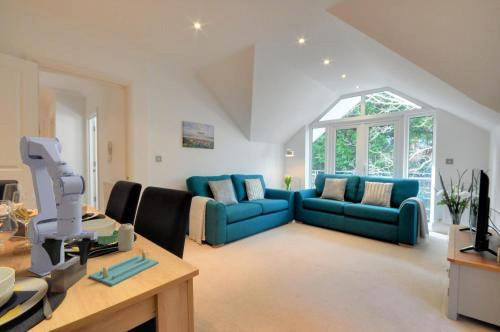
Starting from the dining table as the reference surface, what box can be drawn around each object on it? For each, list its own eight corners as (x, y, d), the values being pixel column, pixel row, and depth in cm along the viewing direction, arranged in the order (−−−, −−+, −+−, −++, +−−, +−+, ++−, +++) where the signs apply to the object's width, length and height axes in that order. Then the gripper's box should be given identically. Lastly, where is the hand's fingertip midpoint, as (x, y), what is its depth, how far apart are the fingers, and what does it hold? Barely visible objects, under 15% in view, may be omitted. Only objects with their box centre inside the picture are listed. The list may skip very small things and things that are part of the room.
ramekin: (126, 240, 106) (126, 230, 106) (109, 248, 97) (109, 237, 97) (108, 238, 108) (108, 229, 108) (91, 245, 99) (91, 235, 99)
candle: (127, 252, 93) (127, 226, 93) (115, 250, 94) (115, 225, 94) (136, 247, 98) (136, 222, 98) (125, 245, 100) (125, 221, 99)
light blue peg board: (89, 277, 73) (89, 265, 73) (136, 257, 89) (136, 247, 88) (112, 286, 68) (112, 273, 68) (158, 263, 84) (158, 253, 84)
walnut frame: (50, 293, 65) (50, 270, 65) (74, 275, 75) (74, 255, 74) (64, 292, 65) (64, 270, 65) (86, 274, 75) (86, 255, 75)
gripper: (31, 221, 65) (32, 270, 65) (87, 221, 66) (87, 269, 66) (51, 215, 72) (51, 259, 72) (101, 215, 73) (101, 259, 73)
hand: (70, 263), depth 70 cm, fingers open, 7 cm apart
